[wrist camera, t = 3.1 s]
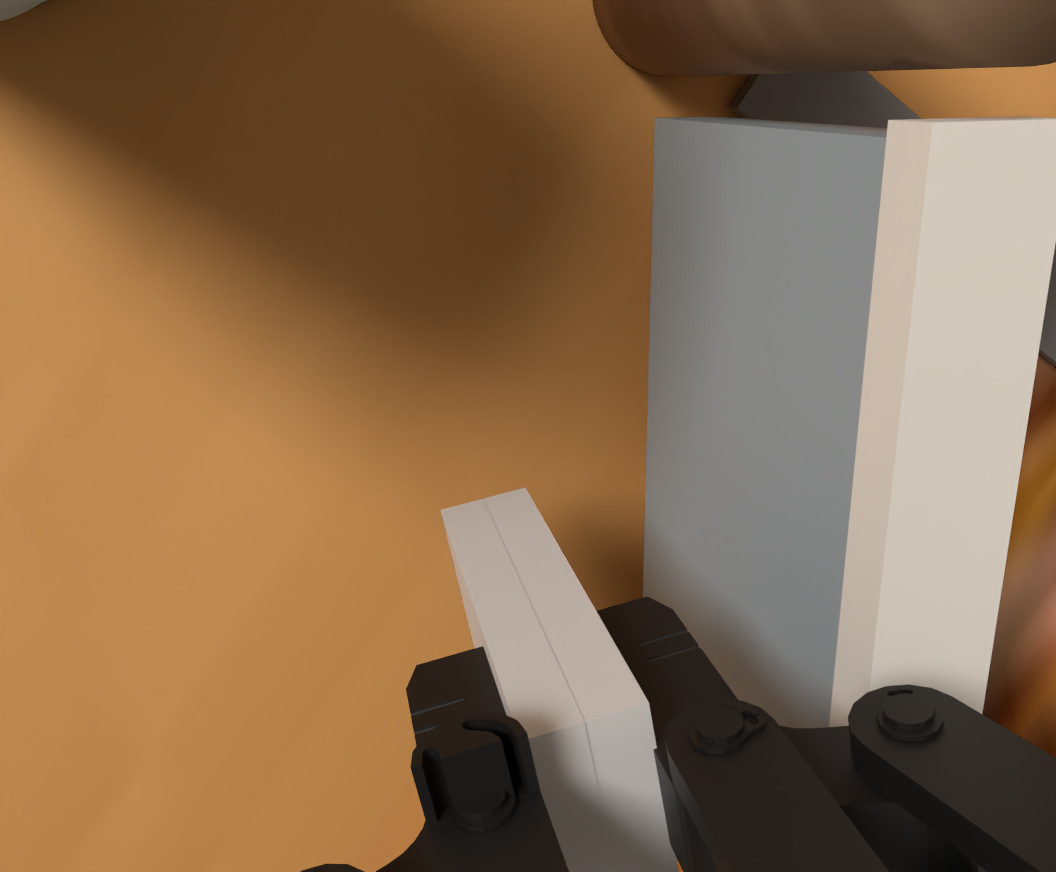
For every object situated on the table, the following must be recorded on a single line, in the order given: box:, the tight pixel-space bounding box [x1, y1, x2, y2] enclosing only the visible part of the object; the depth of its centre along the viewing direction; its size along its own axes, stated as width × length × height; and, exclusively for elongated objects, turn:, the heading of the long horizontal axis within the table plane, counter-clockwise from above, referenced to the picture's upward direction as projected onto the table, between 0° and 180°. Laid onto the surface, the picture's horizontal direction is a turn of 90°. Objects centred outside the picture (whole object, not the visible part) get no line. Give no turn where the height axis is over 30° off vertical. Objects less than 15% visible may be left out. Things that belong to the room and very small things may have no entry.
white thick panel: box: [643, 117, 1056, 728], centre depth 16 cm, size 12×2×9 cm, turn 1°
